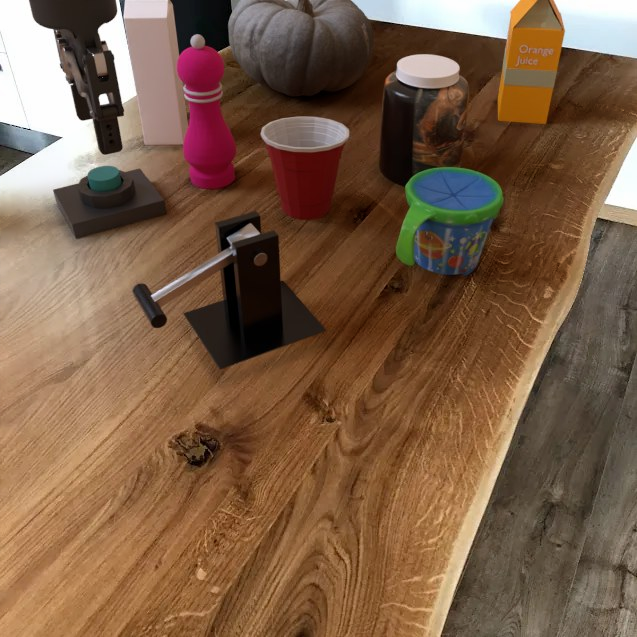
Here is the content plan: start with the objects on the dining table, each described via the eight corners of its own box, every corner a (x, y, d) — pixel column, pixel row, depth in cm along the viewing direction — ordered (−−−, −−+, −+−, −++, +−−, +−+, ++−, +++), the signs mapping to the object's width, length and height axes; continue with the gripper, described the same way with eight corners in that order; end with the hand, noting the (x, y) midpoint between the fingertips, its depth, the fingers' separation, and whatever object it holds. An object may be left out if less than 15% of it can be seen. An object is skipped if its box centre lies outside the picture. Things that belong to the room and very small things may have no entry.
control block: (75, 239, 91) (68, 211, 89) (56, 203, 98) (49, 177, 96) (167, 214, 96) (162, 187, 93) (142, 182, 103) (137, 156, 100)
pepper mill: (225, 195, 100) (210, 47, 87) (178, 186, 102) (156, 41, 89) (246, 170, 105) (235, 28, 92) (201, 163, 107) (184, 22, 94)
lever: (157, 334, 68) (145, 317, 66) (138, 302, 72) (127, 286, 70) (276, 259, 70) (268, 241, 68) (251, 232, 74) (243, 214, 72)
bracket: (221, 378, 72) (207, 273, 64) (184, 322, 79) (168, 220, 71) (326, 339, 77) (326, 236, 68) (283, 289, 83) (279, 190, 75)
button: (95, 195, 93) (92, 183, 92) (86, 182, 95) (83, 170, 94) (125, 187, 94) (123, 175, 93) (116, 174, 97) (114, 163, 96)
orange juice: (543, 102, 123) (568, -25, 110) (546, 124, 116) (574, -8, 104) (496, 99, 124) (515, -28, 111) (496, 120, 117) (517, -11, 105)
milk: (151, 129, 116) (126, -20, 102) (189, 128, 116) (170, -20, 102) (144, 146, 111) (118, -7, 97) (184, 145, 111) (163, -8, 98)
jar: (365, 178, 103) (369, 73, 94) (395, 144, 111) (401, 44, 102) (445, 196, 99) (458, 88, 90) (470, 159, 107) (484, 57, 98)
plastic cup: (355, 198, 99) (357, 114, 91) (338, 241, 91) (340, 153, 83) (277, 189, 101) (274, 106, 93) (255, 231, 93) (248, 143, 85)
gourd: (195, 69, 128) (204, -37, 118) (291, 55, 145) (306, -39, 135) (298, 124, 117) (319, 12, 106) (389, 102, 133) (414, 3, 123)
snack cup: (460, 223, 94) (470, 151, 87) (523, 261, 87) (539, 186, 81) (365, 265, 87) (369, 189, 80) (426, 310, 80) (434, 231, 74)
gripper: (6, -51, 68) (46, 115, 78) (39, -10, 58) (80, 173, 68) (87, -60, 70) (115, 101, 81) (131, -22, 61) (157, 155, 71)
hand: (99, 134), depth 75 cm, fingers open, 8 cm apart
